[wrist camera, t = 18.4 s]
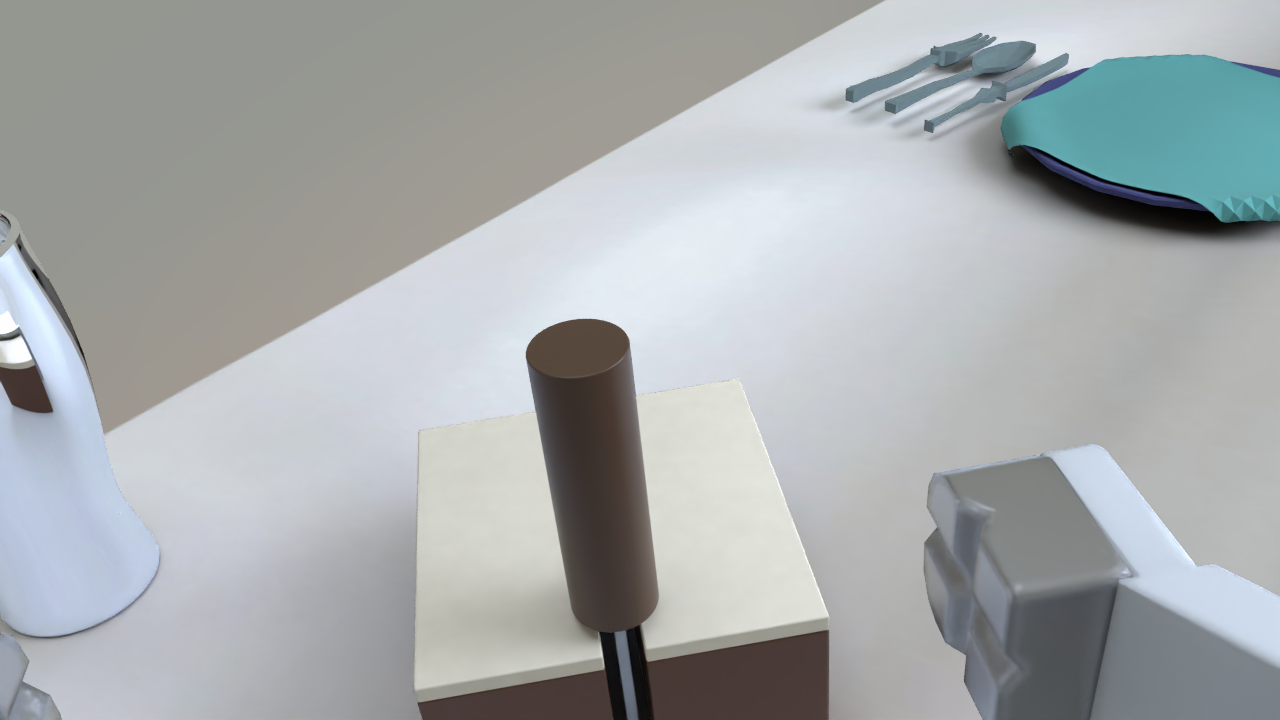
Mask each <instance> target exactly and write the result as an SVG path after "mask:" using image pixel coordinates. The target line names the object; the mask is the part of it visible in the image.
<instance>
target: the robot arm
mask: <svg viewBox="0 0 1280 720" xmlns="http://www.w3.org/2000/svg"><path fill="white" fill-rule="evenodd" d="M927 508H928V510H929V512H930V514H931V516H932V518H933V520H934V521H935V523H936V525H937V528H936V530H935V531H934V532H933V533H932V534H931V535H930V537H929V538H928V539H927V540H926V541H925V543H924V576H925V582H926V588H927V595H928V600H929V603H930V606H931V609H932V612H933V615H934V618H935V621H936V623H937V625H938V627H939V630H940V632H941V634H942V636H943V638H944V640H945V642H946V643H947V644H949V645H950V646H952V647H954V648H955V649H957V650H958V651H960V652H962V653H963V654H965V655H966V665H965V675H964V682H965V685H966V687H967V689H968V691H969V693H970V695H971V697H972V699H973V701H974V703H975V705H976V707H977V709H978V711H979V713H980V715H981V717H982V719H983V720H1280V596H1279V595H1276V594H1274V593H1272V592H1270V591H1268V590H1266V589H1264V588H1262V587H1260V586H1258V585H1256V584H1254V583H1252V582H1250V581H1248V580H1246V579H1243V578H1241V577H1239V576H1237V575H1235V574H1233V573H1231V572H1229V571H1227V570H1225V569H1223V568H1221V567H1219V566H1217V565H1215V564H1208V565H1202V566H1196V565H1195V563H1194V562H1193V561H1192V560H1191V558H1190V557H1189V556H1188V555H1187V553H1186V552H1185V551H1184V549H1183V548H1182V547H1181V546H1180V544H1179V543H1178V542H1177V540H1176V539H1175V538H1174V537H1173V535H1172V534H1171V533H1170V531H1169V530H1168V529H1167V528H1166V526H1165V525H1164V524H1163V523H1162V521H1161V520H1160V519H1159V517H1158V516H1157V515H1156V514H1155V512H1154V511H1153V510H1152V508H1151V507H1150V506H1149V505H1148V503H1147V502H1146V501H1145V499H1144V498H1143V497H1142V496H1141V494H1140V493H1139V492H1138V490H1137V489H1136V488H1135V487H1134V485H1133V484H1132V483H1131V482H1130V480H1129V479H1128V478H1127V476H1126V475H1125V474H1124V473H1123V471H1122V470H1121V469H1120V467H1119V466H1118V465H1117V464H1116V462H1115V461H1114V460H1113V458H1112V457H1111V456H1110V455H1109V453H1108V452H1107V451H1106V450H1105V449H1104V448H1102V447H1100V446H1098V445H1096V444H1091V445H1085V446H1080V447H1074V448H1069V449H1064V450H1058V451H1053V452H1047V453H1042V454H1041V455H1039V456H1036V455H1034V456H1028V457H1023V458H1017V459H1011V460H1006V461H1000V462H995V463H989V464H983V465H978V466H972V467H967V468H961V469H955V470H950V471H944V472H939V473H934V474H933V476H932V479H931V481H930V484H929V487H928V499H927ZM28 664H29V659H28V658H27V656H26V655H25V653H24V652H23V650H22V649H21V647H20V646H19V644H18V643H17V641H16V640H15V638H14V637H13V635H6V634H0V720H62V718H61V714H60V712H59V711H58V709H57V707H56V705H55V703H54V702H53V700H52V698H51V696H50V695H49V694H47V693H45V692H43V691H41V690H39V689H37V688H35V687H32V686H30V685H28V684H26V683H24V682H22V680H23V677H24V675H25V672H26V669H27V666H28Z"/></svg>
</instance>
